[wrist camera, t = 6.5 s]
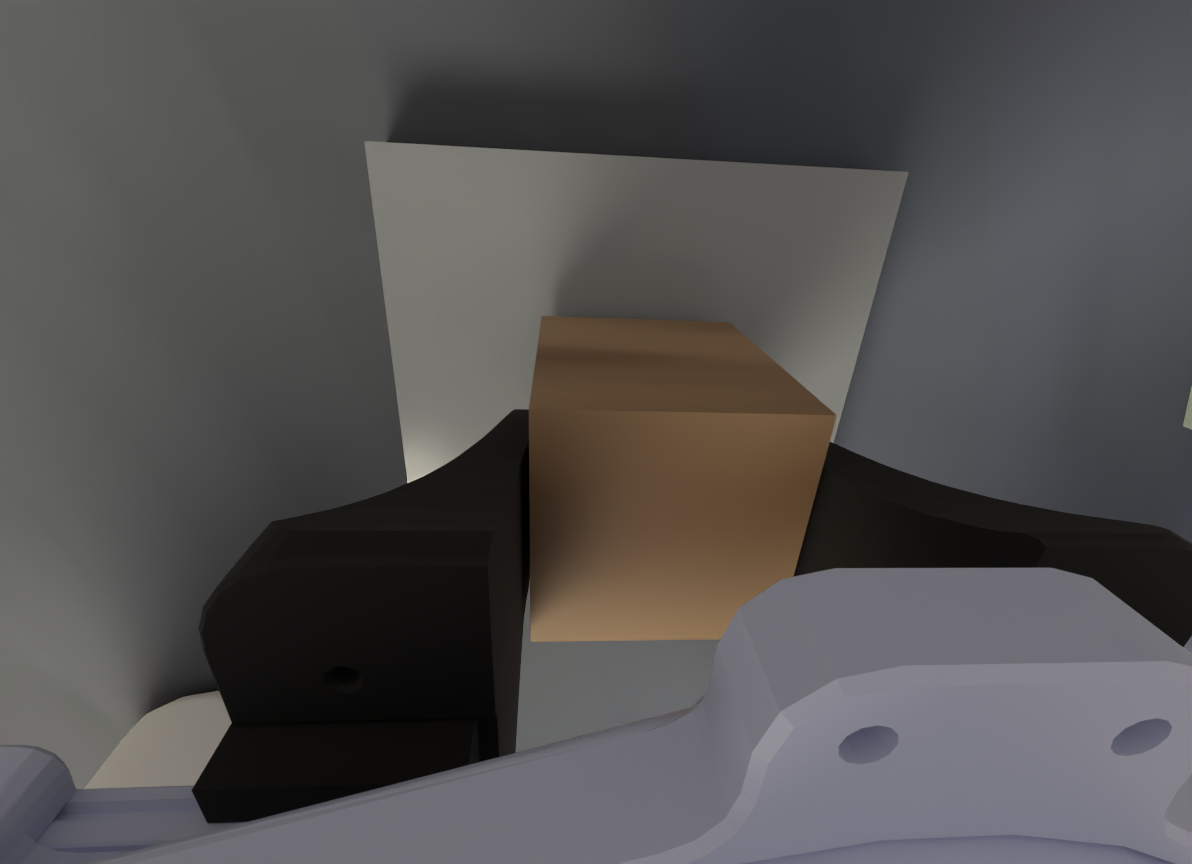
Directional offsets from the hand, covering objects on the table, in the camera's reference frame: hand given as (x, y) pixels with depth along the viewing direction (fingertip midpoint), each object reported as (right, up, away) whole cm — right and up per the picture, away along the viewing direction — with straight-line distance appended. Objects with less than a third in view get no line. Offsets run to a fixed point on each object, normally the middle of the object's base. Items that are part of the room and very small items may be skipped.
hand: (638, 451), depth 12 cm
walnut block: (0, +1, +1) cm, 2 cm away
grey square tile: (0, +2, +3) cm, 4 cm away
